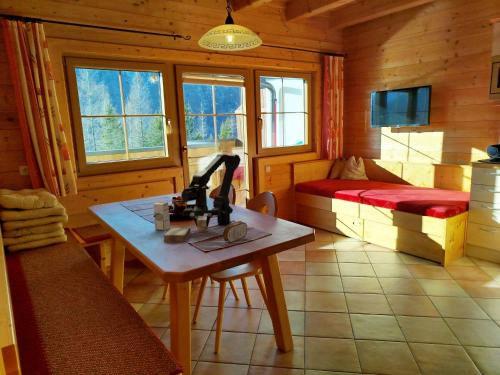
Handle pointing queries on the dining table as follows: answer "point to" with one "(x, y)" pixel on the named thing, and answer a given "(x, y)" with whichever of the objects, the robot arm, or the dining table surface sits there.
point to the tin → (235, 231)
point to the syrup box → (161, 215)
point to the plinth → (177, 235)
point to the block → (202, 225)
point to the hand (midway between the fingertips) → (202, 227)
